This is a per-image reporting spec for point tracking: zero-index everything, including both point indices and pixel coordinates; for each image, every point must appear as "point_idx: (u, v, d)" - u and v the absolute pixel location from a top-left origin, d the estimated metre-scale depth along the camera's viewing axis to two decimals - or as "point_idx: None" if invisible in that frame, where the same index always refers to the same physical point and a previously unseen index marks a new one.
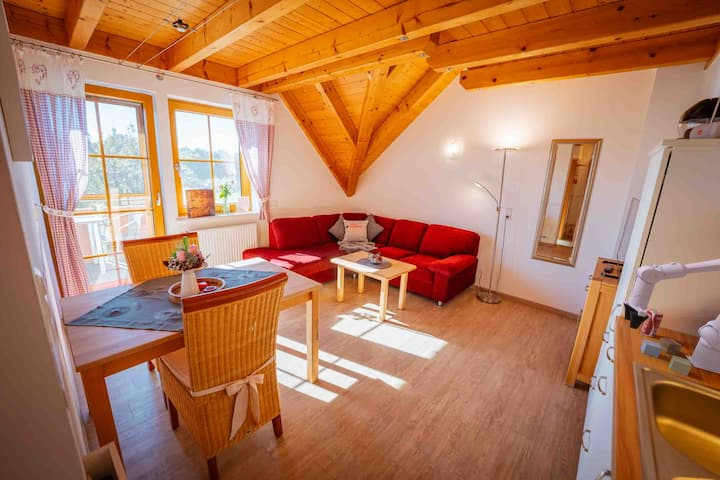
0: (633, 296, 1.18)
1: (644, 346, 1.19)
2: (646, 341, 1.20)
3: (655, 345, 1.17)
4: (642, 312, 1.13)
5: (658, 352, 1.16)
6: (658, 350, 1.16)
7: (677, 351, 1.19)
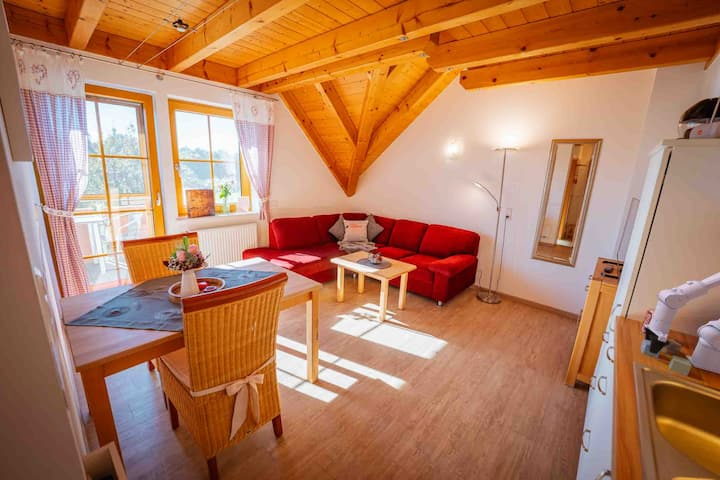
0: (654, 320, 1.16)
1: (644, 346, 1.19)
2: (646, 341, 1.20)
3: None
4: (662, 337, 1.11)
5: (658, 352, 1.16)
6: None
7: (677, 351, 1.19)
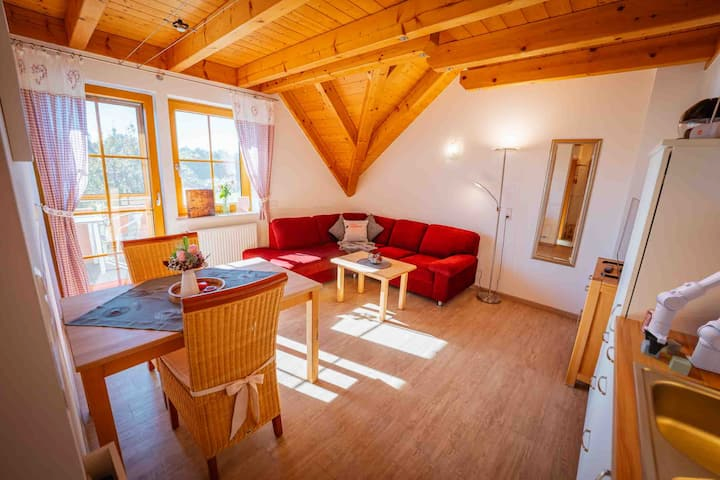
0: (653, 322, 1.16)
1: (644, 346, 1.19)
2: (646, 341, 1.20)
3: None
4: (662, 339, 1.11)
5: (658, 352, 1.16)
6: None
7: (677, 351, 1.19)
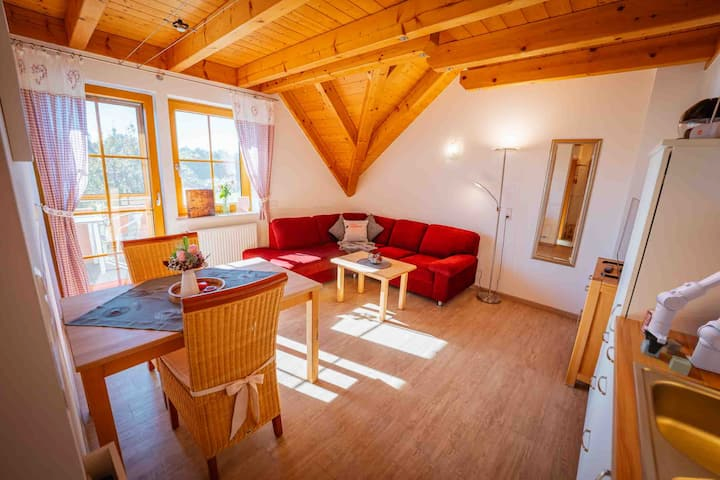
0: (653, 322, 1.16)
1: (644, 346, 1.19)
2: (646, 341, 1.20)
3: None
4: (662, 339, 1.11)
5: (658, 352, 1.16)
6: None
7: (677, 351, 1.19)
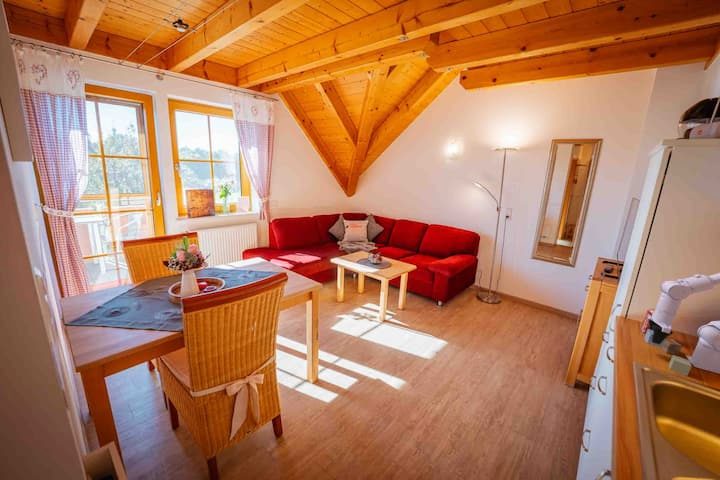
0: (657, 311, 1.14)
1: (648, 336, 1.18)
2: (650, 331, 1.18)
3: None
4: (666, 328, 1.10)
5: (662, 342, 1.15)
6: None
7: (677, 351, 1.19)
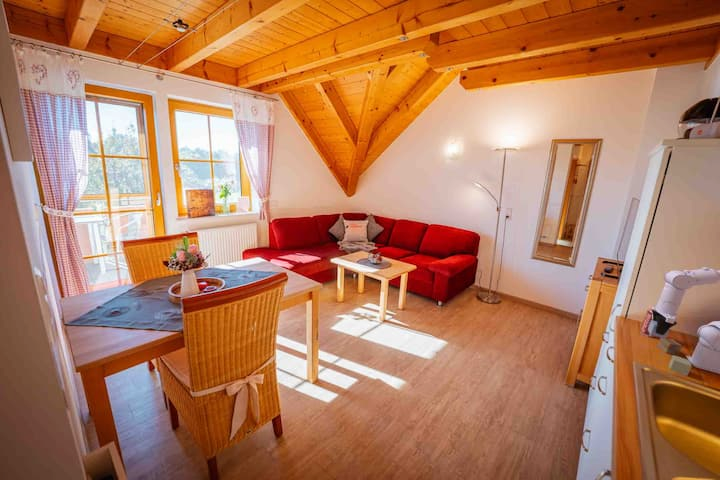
0: (661, 302, 1.13)
1: (652, 327, 1.17)
2: (654, 322, 1.17)
3: None
4: (670, 319, 1.09)
5: (666, 332, 1.14)
6: None
7: (677, 351, 1.19)
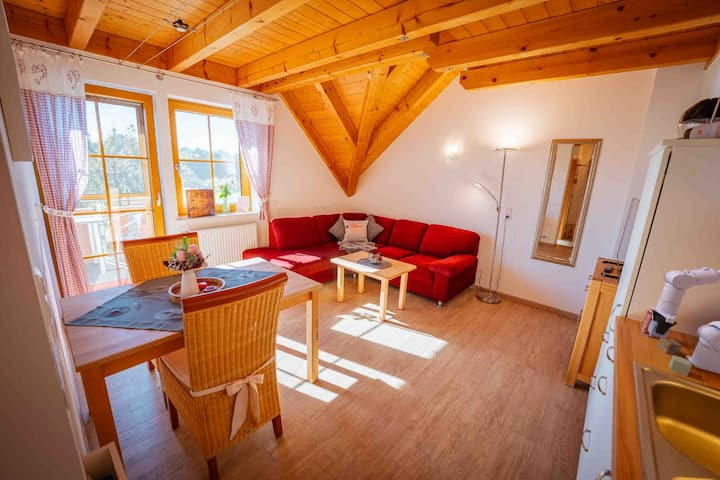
0: (661, 302, 1.13)
1: (652, 327, 1.17)
2: (654, 322, 1.17)
3: None
4: (670, 319, 1.09)
5: (666, 332, 1.14)
6: None
7: (677, 351, 1.19)
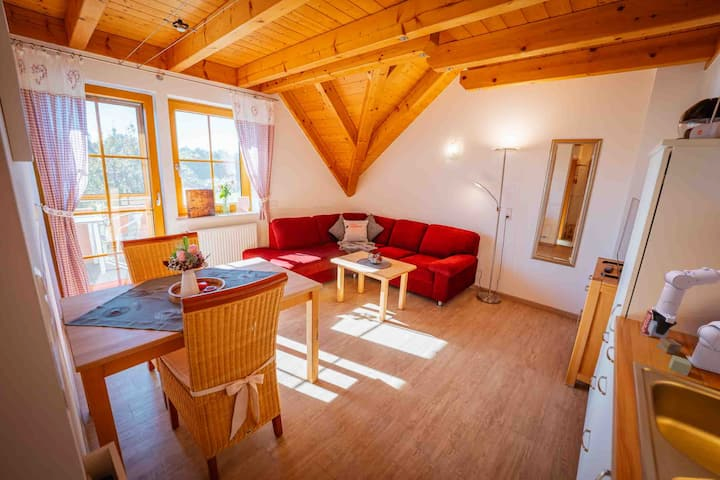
0: (661, 302, 1.13)
1: (652, 327, 1.17)
2: (654, 322, 1.17)
3: None
4: (670, 319, 1.09)
5: (666, 332, 1.14)
6: None
7: (677, 351, 1.19)
